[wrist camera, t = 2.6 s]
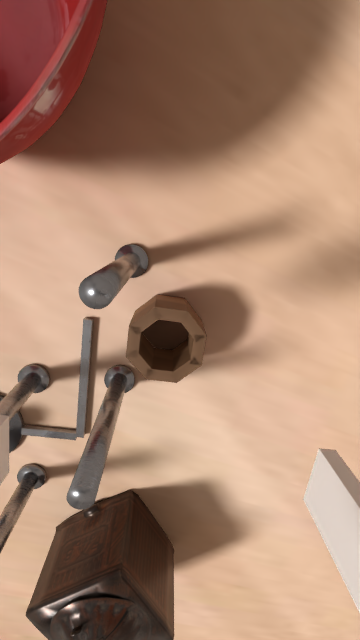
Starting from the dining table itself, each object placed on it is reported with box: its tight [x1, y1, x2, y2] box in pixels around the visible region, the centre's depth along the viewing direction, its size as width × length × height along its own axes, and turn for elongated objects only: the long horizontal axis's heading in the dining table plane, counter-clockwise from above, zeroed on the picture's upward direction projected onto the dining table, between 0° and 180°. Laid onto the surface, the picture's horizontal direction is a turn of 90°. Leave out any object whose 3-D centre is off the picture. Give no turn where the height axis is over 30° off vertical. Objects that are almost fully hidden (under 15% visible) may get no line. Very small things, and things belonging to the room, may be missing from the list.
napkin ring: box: [126, 294, 207, 383], centre depth 29 cm, size 6×6×5 cm
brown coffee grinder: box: [26, 490, 174, 640], centre depth 30 cm, size 16×11×18 cm
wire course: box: [0, 244, 148, 553], centre depth 25 cm, size 12×28×15 cm, turn 172°
